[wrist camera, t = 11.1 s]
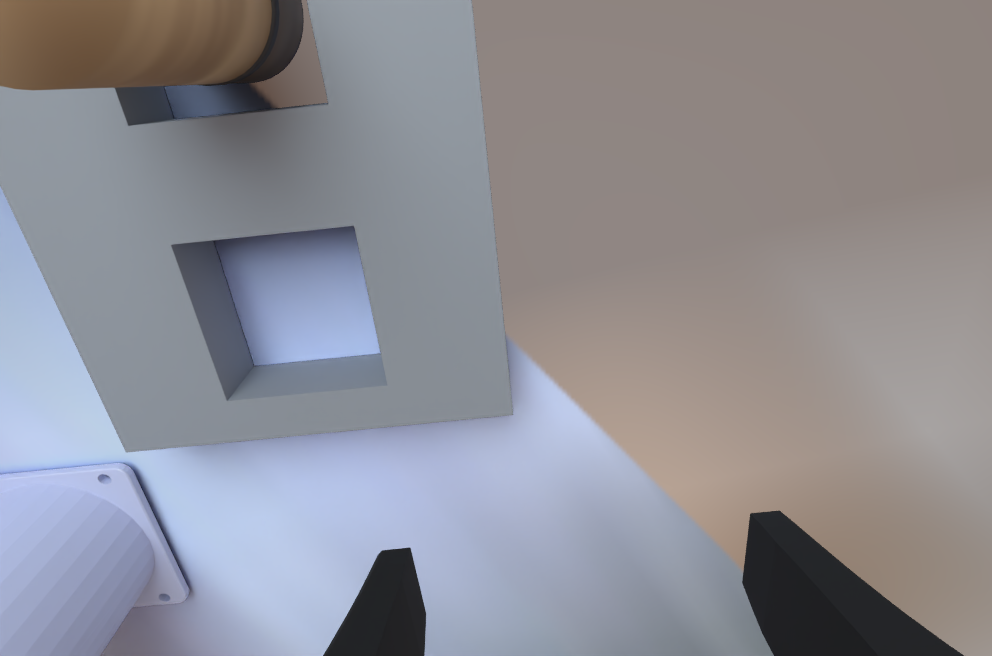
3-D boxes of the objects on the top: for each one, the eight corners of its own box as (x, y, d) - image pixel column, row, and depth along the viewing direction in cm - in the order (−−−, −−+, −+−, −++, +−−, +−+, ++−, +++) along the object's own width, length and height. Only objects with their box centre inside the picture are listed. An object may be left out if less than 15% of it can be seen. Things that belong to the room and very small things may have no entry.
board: (162, 413, 22) (126, 452, 20) (-79, -159, 14) (-183, -202, 12) (509, 379, 22) (513, 414, 19) (449, -220, 14) (444, -277, 12)
